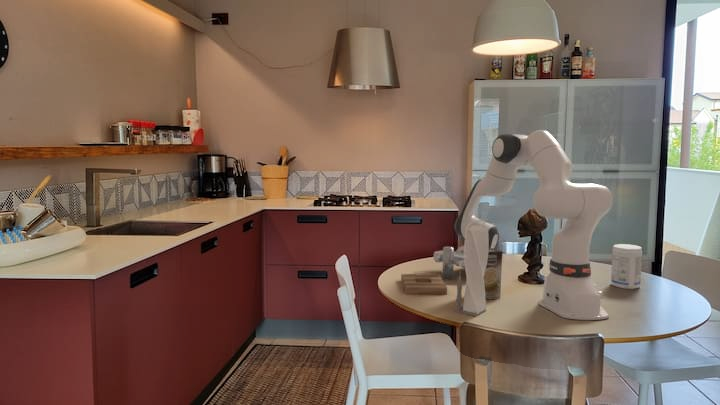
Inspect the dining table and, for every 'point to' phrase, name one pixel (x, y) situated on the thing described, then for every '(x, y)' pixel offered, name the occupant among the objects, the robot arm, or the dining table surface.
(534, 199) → the robot arm
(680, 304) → the dining table surface
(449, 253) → the steel pin
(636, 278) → the supplement tub
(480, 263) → the skyscraper
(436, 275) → the slot plate
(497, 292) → the coffee box
